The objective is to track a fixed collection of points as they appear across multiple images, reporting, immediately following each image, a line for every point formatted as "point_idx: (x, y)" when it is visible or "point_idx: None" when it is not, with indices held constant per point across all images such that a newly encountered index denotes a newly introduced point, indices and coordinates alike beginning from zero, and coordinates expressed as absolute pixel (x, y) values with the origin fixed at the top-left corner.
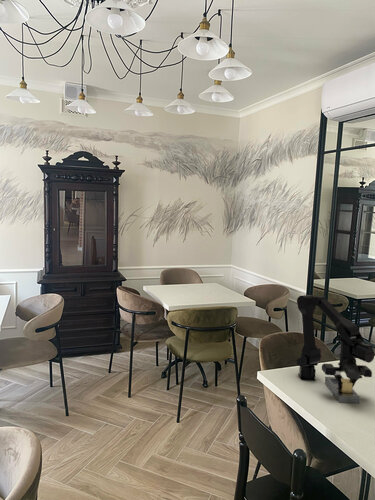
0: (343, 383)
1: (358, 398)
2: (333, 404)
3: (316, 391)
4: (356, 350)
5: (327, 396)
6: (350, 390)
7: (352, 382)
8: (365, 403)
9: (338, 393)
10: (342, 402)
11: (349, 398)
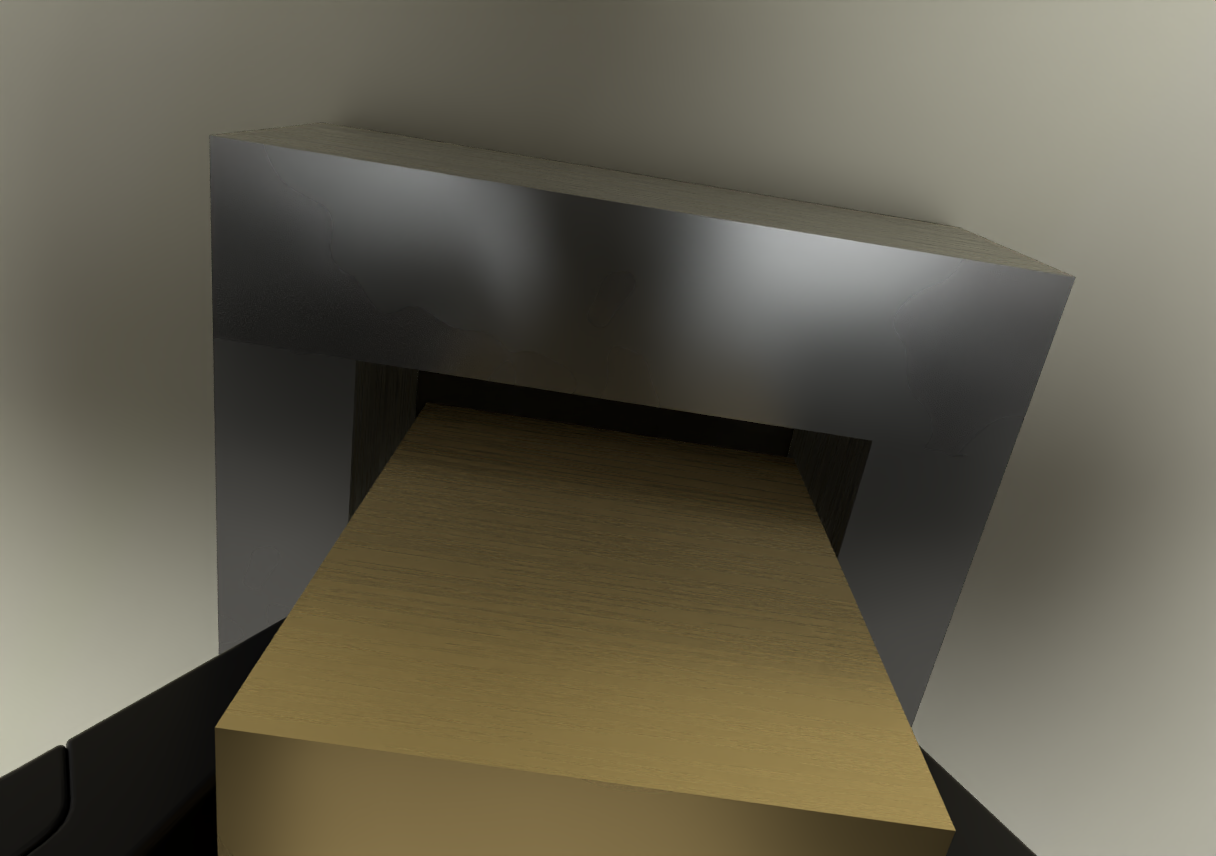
0: (882, 779)
1: (278, 133)
2: (1190, 153)
3: (1141, 835)
4: None
5: (1029, 606)
6: (458, 482)
7: (171, 831)
8: (88, 164)
9: (977, 454)
10: (851, 212)
11: (635, 195)
